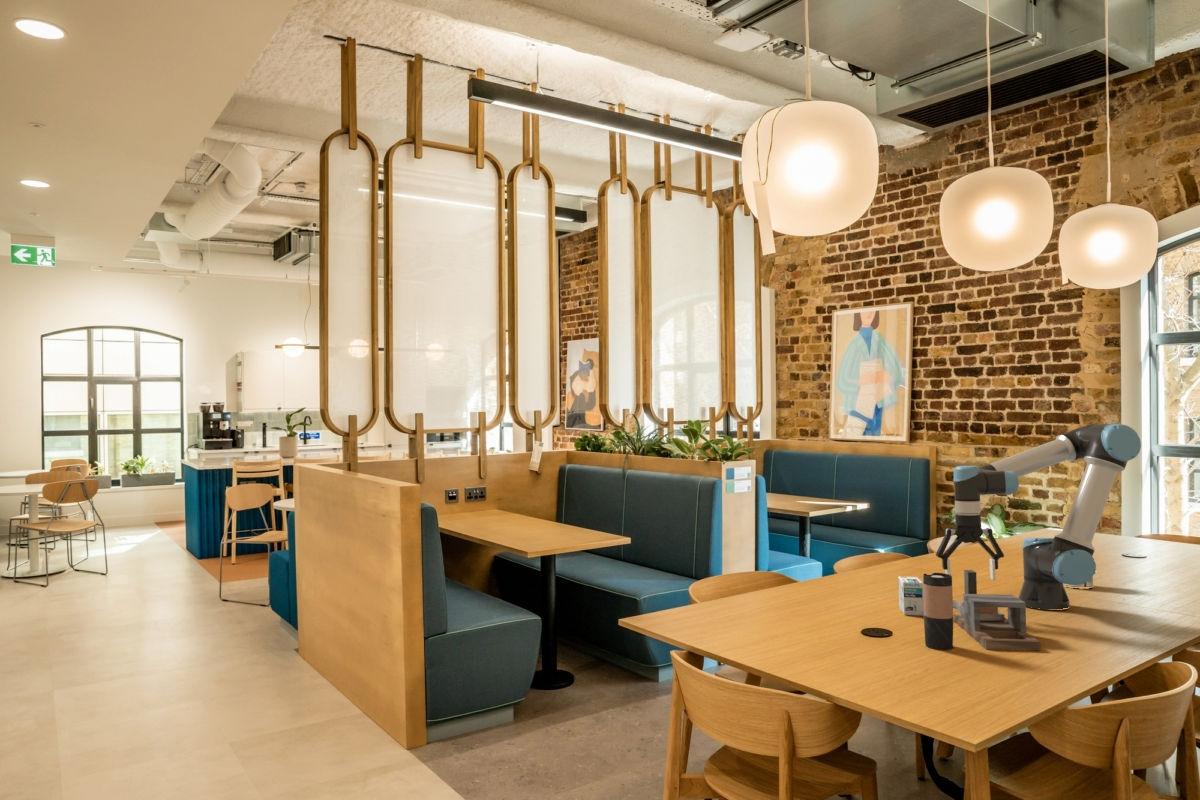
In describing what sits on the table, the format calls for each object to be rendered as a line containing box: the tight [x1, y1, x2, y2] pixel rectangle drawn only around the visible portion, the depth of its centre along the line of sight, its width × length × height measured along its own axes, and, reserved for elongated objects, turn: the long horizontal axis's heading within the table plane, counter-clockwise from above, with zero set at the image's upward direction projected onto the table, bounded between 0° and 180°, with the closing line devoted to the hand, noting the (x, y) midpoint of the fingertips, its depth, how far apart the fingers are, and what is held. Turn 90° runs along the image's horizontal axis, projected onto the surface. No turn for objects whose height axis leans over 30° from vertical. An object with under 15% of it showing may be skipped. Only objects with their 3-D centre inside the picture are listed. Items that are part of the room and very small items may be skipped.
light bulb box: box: [897, 575, 924, 617], centre depth 261 cm, size 11×7×11 cm, turn 168°
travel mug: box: [922, 572, 954, 651], centre depth 222 cm, size 8×8×20 cm
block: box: [980, 607, 999, 621], centre depth 242 cm, size 7×6×5 cm
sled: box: [953, 569, 1005, 621], centre depth 247 cm, size 17×10×12 cm, turn 172°
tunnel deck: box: [953, 593, 1041, 651], centre depth 232 cm, size 30×14×11 cm, turn 172°
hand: (970, 579), depth 254 cm, fingers open, 13 cm apart
